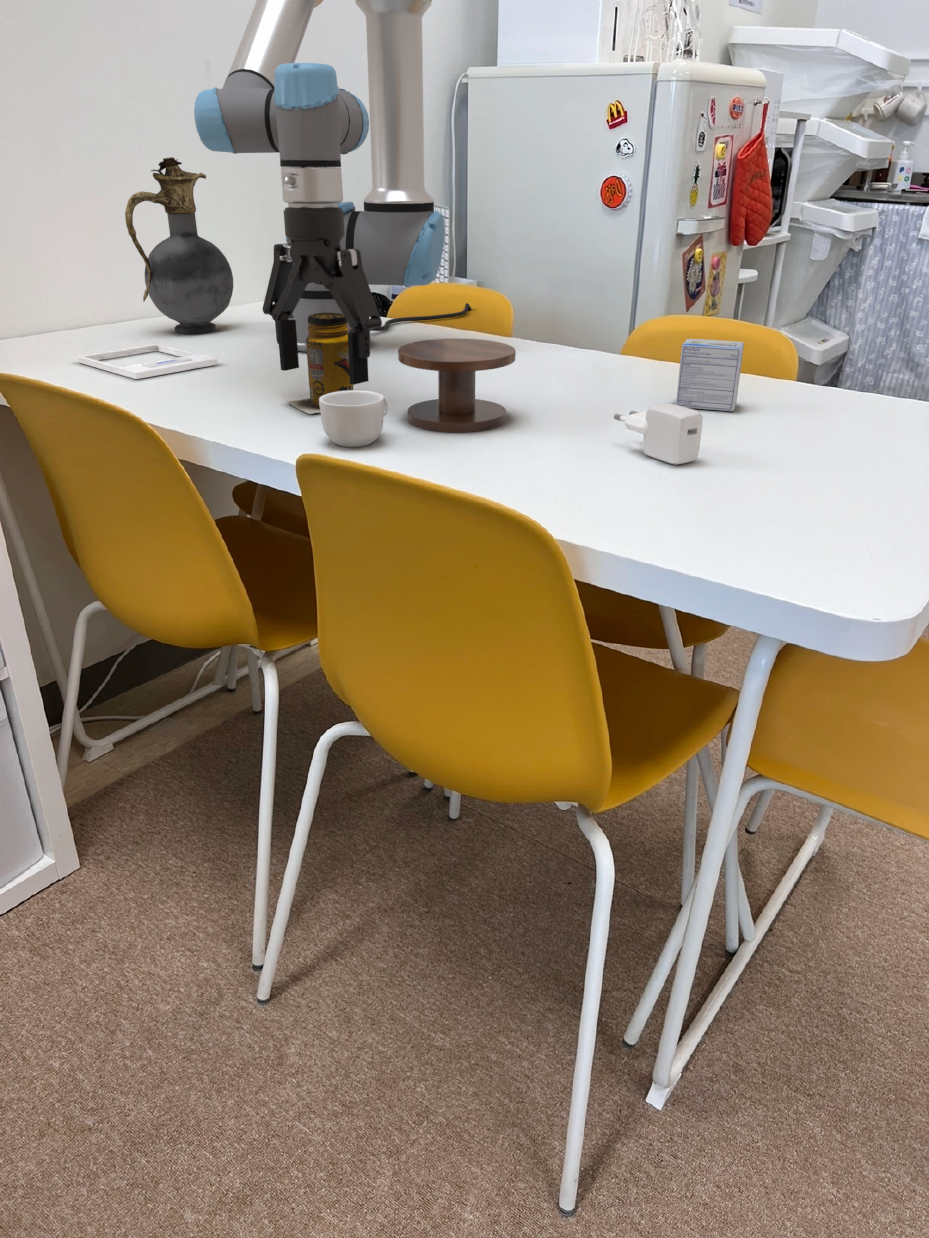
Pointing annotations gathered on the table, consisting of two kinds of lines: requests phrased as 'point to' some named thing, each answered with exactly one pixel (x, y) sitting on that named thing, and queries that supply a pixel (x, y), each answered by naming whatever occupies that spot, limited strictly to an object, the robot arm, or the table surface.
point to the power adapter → (667, 432)
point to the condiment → (325, 359)
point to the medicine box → (709, 374)
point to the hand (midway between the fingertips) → (323, 376)
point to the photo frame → (151, 368)
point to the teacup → (353, 416)
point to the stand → (456, 383)
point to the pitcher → (182, 256)
